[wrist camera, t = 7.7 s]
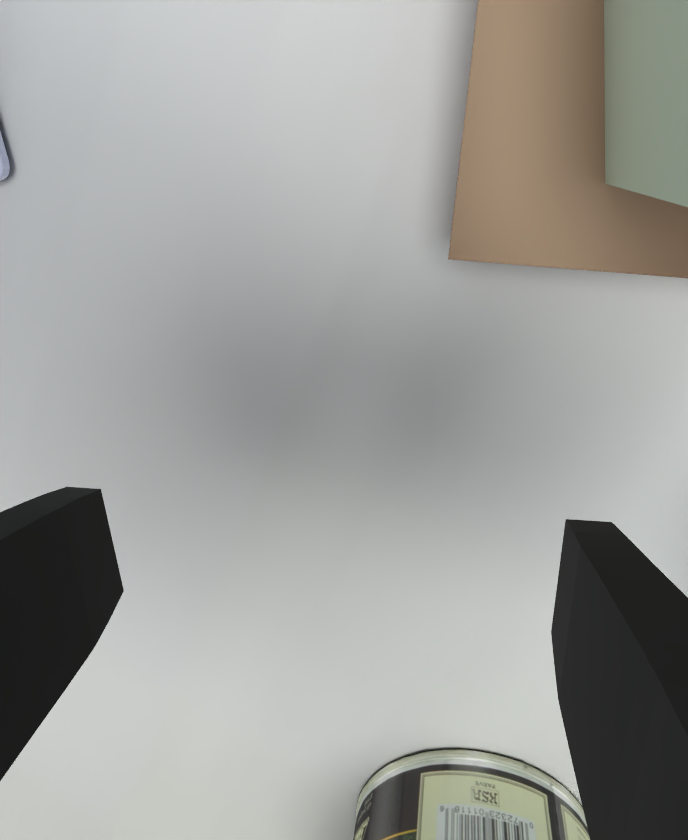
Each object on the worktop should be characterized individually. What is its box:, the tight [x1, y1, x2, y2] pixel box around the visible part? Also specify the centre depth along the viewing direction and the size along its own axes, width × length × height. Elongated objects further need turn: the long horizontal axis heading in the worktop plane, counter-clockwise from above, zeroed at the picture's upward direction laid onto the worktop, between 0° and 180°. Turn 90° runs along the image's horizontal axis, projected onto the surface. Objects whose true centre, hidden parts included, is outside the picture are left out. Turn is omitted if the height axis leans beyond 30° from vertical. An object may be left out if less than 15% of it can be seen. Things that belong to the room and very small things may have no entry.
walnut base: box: [448, 0, 688, 278], centre depth 13 cm, size 9×9×4 cm
